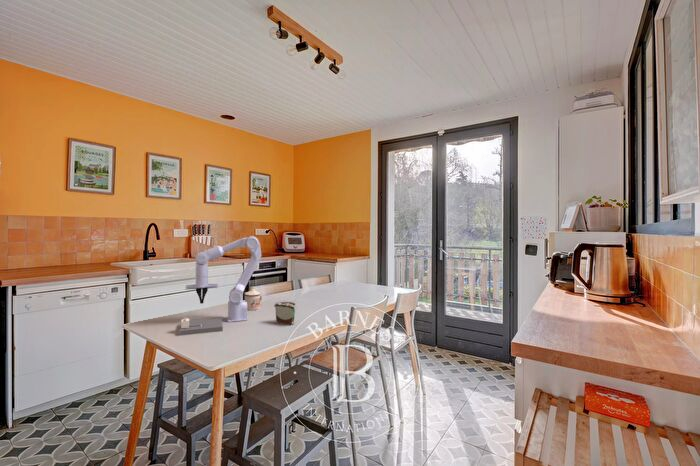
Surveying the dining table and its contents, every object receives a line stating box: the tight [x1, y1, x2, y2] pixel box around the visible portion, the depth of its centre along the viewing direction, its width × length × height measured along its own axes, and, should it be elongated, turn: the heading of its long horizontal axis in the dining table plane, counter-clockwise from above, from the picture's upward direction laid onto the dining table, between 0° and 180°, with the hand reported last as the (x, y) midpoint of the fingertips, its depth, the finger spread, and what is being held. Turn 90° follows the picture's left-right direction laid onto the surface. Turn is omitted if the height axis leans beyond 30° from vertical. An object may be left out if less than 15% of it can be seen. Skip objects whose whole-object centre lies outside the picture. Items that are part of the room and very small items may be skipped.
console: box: [178, 317, 224, 336], centre depth 157 cm, size 18×16×2 cm
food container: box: [273, 301, 297, 326], centre depth 169 cm, size 12×6×10 cm, turn 65°
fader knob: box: [180, 317, 190, 328], centre depth 152 cm, size 3×4×4 cm
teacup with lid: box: [243, 288, 263, 311], centre depth 195 cm, size 12×9×12 cm
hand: (201, 303), depth 167 cm, fingers closed
